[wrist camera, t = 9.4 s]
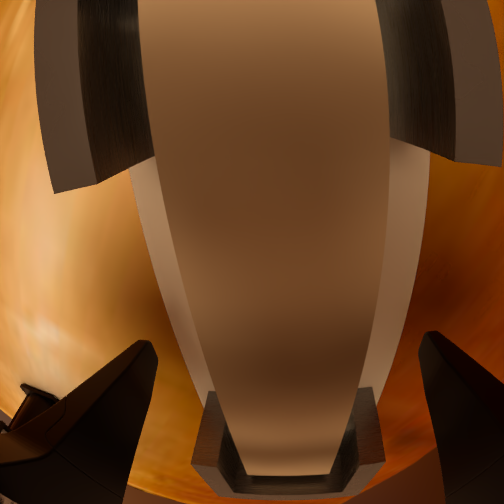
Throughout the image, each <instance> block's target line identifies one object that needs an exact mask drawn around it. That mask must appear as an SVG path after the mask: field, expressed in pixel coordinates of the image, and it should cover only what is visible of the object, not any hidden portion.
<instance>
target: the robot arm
mask: <svg viewBox="0 0 504 504" xmlns="http://www.w3.org/2000/svg"><path fill="white" fill-rule="evenodd" d="M418 356H419V361H420V367H421V372H422V378H423V384H424V391H425V396H426V400H427V404H428V408H429V412H430V416H431V420H432V424H433V429H434V433H435V438H436V443H437V448H438V453H439V458H440V465H441V471H442V477H443V484H444V492H445V497H446V498H445V501H446V504H504V384H503V383H502V382H500V381H499V380H498V379H497V378H496V377H494V376H493V375H492V374H491V373H490V372H488V371H487V370H486V369H485V368H484V367H482V366H481V365H480V364H479V363H477V362H476V361H475V360H474V359H473V358H471V357H470V356H469V355H468V354H466V353H465V352H464V351H463V350H461V349H460V348H459V347H457V346H456V345H455V344H454V343H452V342H451V341H450V340H449V339H447V338H446V337H445V336H443V335H442V334H441V333H440V332H438V331H428V332H426V333H425V334H424V336H423V339H422V342H421V345H420V347H419V351H418ZM157 366H158V357H157V355H156V352H155V350H154V348H153V345H152V343H151V342H150V341H148V340H138V341H136V342H135V343H134V344H132V345H131V346H130V347H129V348H127V349H126V350H125V351H123V352H122V353H121V354H119V355H118V356H117V357H116V358H114V359H113V360H112V361H110V362H109V363H108V364H107V365H105V366H104V367H103V368H101V369H100V370H99V371H97V372H96V373H95V374H94V375H92V376H91V377H90V378H88V379H87V380H86V381H85V382H83V383H82V384H81V385H79V386H78V387H77V388H75V389H74V390H73V391H72V392H70V393H69V394H68V395H67V397H66V396H65V397H64V398H62V399H61V400H60V401H58V400H57V399H56V398H55V397H54V396H52V395H49V394H46V393H44V392H41V391H38V390H36V389H33V388H31V387H29V386H26V385H24V384H21V386H20V387H21V389H22V390H23V391H24V392H25V394H26V395H27V396H26V397H25V399H24V401H23V402H22V404H21V406H20V407H19V409H18V411H17V412H16V414H15V416H14V417H13V419H12V421H11V423H10V424H9V426H7V425H5V423H4V422H3V421H0V504H122V502H123V497H124V494H125V490H126V486H127V482H128V478H129V474H130V470H131V467H132V463H133V459H134V456H135V452H136V449H137V445H138V442H139V438H140V435H141V431H142V428H143V424H144V421H145V418H146V414H147V411H148V408H149V404H150V401H151V396H152V391H153V386H154V381H155V376H156V371H157ZM1 432H3V433H2V434H1Z"/></svg>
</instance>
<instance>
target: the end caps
mask: <svg viewBox="0 0 504 504" xmlns="http://www.w3.org/2000/svg"><path fill="white" fill-rule="evenodd" d="M375 2H376V7H377V13H378V18H379V24H380V30H381V36H382V43H383V50H384V58H385V67H386V77H387V89H388V104H389V128H390V137H391V138H394V139H397V140H400V141H403V142H406V143H409V144H411V145H414V146H417V147H420V148H422V149H425V150H428V151H430V152H433V153H435V154H438V155H440V156H443V157H445V158H447V159H450V160H452V161H454V162H463V163H473V164H482V165H490V166H498V167H501V165H502V151H503V96H502V82H501V72H500V63H499V56H498V49H497V43H496V38H495V33H494V28H493V23H492V19H491V15H490V11H489V7H488V3H487V0H375ZM34 64H35V82H36V94H37V104H38V113H39V120H40V127H41V134H42V140H43V145H44V151H45V156H46V161H47V165H48V170H49V174H50V179H51V183H52V187H53V191H54V194H56V193H60V192H64V191H69V190H73V189H77V188H82V187H86V186H91V185H95V184H98V183H100V182H102V181H104V180H106V179H108V178H110V177H112V176H114V175H116V174H118V173H120V172H122V171H124V170H126V169H128V168H130V167H132V166H134V165H136V164H138V163H141V162H143V161H145V160H147V159H149V158H151V157H154V156H155V153H154V147H153V141H152V135H151V128H150V122H149V115H148V108H147V100H146V93H145V84H144V76H143V66H142V56H141V45H140V32H139V17H138V0H36V9H35V26H34ZM385 462H386V460H385V453H384V447H383V441H382V435H381V429H380V423H379V418H378V413H377V408H376V402H375V398H374V393H373V388H372V387H365V388H358V390H357V393H356V397H355V400H354V404H353V407H352V410H351V414H350V417H349V420H348V423H347V426H346V429H345V432H344V435H343V438H342V441H341V444H340V447H339V449H338V452H337V455H336V457H335V460H334V463H333V465H332V468H331V470H330V473H329V474H321V475H301V476H263V475H247V473H246V470H245V468H244V465H243V463H242V461H241V458H240V456H239V453H238V451H237V448H236V446H235V443H234V440H233V438H232V435H231V433H230V430H229V427H228V425H227V422H226V419H225V417H224V414H223V411H222V408H221V405H220V403H219V400H218V397H217V394H216V391H208V395H207V399H206V403H205V407H204V411H203V415H202V419H201V423H200V428H199V432H198V436H197V440H196V444H195V448H194V452H193V456H192V460H191V465H192V466H193V467H194V469H195V470H196V471H197V472H198V473H199V475H200V476H201V477H202V478H203V479H204V480H205V482H206V483H207V484H208V485H209V486H210V487H211V488H212V489H213V491H214V492H215V493H216V494H217V495H218V496H221V497H231V498H242V499H257V500H310V499H325V498H336V497H345V496H353V495H358V494H359V493H360V492H361V491H362V490H363V488H364V487H365V486H366V485H367V484H368V483H369V482H370V480H371V479H372V478H373V477H374V476H375V474H376V473H377V472H378V471H379V469H380V468H381V467H382V466H383V464H384V463H385Z"/></svg>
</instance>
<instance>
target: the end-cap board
mask: <svg viewBox="0 0 504 504" xmlns="http://www.w3.org/2000/svg"><path fill="white" fill-rule="evenodd" d="M429 164H430V151H428V150H425V149H422V148H420V147H417V146H414V145H411V144H409V143H406V142H403V141H400V140H397V139H394V138H391V137H390V174H389V199H388V214H387V227H386V238H385V248H384V256H383V264H382V272H381V279H380V286H379V292H378V298H377V304H376V310H375V316H374V321H373V326H372V331H371V336H370V341H369V345H368V350H367V354H366V358H365V362H364V367H363V371H362V375H361V378H360V382H359V386H358V388H365V387H372V388H373V393H374V398H375V402H376V406H377V403H378V401H379V398H380V396H381V393H382V390H383V388H384V385H385V382H386V380H387V377H388V374H389V371H390V368H391V365H392V362H393V359H394V356H395V353H396V350H397V347H398V344H399V340H400V337H401V333H402V330H403V326H404V323H405V319H406V315H407V311H408V307H409V303H410V299H411V295H412V290H413V286H414V281H415V276H416V271H417V266H418V261H419V255H420V249H421V243H422V236H423V229H424V222H425V214H426V205H427V194H428V181H429ZM129 172H130V177H131V182H132V186H133V191H134V195H135V200H136V204H137V208H138V213H139V217H140V221H141V225H142V229H143V233H144V236H145V240H146V244H147V248H148V251H149V255H150V258H151V262H152V265H153V269H154V272H155V276H156V279H157V282H158V285H159V289H160V292H161V295H162V298H163V301H164V304H165V307H166V310H167V313H168V316H169V319H170V322H171V325H172V328H173V331H174V334H175V336H176V339H177V342H178V345H179V347H180V350H181V353H182V355H183V358H184V361H185V363H186V366H187V368H188V371H189V373H190V376H191V378H192V381H193V383H194V386H195V388H196V391H197V393H198V395H199V398H200V400H201V402H202V405H203V407H205V403H206V399H207V395H208V391H215V388H214V385H213V382H212V379H211V376H210V373H209V370H208V367H207V364H206V361H205V358H204V355H203V352H202V348H201V345H200V342H199V339H198V335H197V332H196V329H195V325H194V322H193V318H192V315H191V311H190V308H189V304H188V300H187V297H186V293H185V289H184V286H183V282H182V278H181V274H180V270H179V266H178V262H177V258H176V254H175V250H174V246H173V242H172V237H171V233H170V228H169V224H168V219H167V215H166V210H165V205H164V201H163V196H162V191H161V186H160V180H159V175H158V170H157V164H156V159H155V156H154V157H151V158H149V159H147V160H145V161H143V162H141V163H138V164H136V165H134V166H132V167H130V168H129Z"/></svg>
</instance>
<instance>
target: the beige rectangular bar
mask: <svg viewBox="0 0 504 504" xmlns="http://www.w3.org/2000/svg"><path fill="white" fill-rule="evenodd" d="M138 17H139V32H140V45H141V56H142V66H143V76H144V84H145V93H146V100H147V108H148V115H149V122H150V128H151V135H152V141H153V147H154V153H155V159H156V164H157V170H158V175H159V180H160V186H161V191H162V196H163V201H164V205H165V210H166V215H167V219H168V224H169V228H170V233H171V237H172V242H173V246H174V250H175V254H176V258H177V262H178V266H179V270H180V274H181V278H182V282H183V286H184V289H185V293H186V297H187V300H188V304H189V308H190V311H191V315H192V318H193V322H194V325H195V329H196V332H197V335H198V339H199V342H200V345H201V348H202V352H203V355H204V358H205V361H206V364H207V367H208V370H209V373H210V376H211V379H212V382H213V385H214V388H215V391H216V394H217V397H218V400H219V403H220V405H221V408H222V411H223V414H224V417H225V419H226V422H227V425H228V427H229V430H230V433H231V435H232V438H233V440H234V443H235V446H236V448H237V451H238V453H239V456H240V458H241V461H242V463H243V465H244V468H245V470H246V473H247V475H263V476H301V475H321V474H329V473H330V470H331V468H332V465H333V463H334V460H335V457H336V455H337V452H338V449H339V447H340V444H341V441H342V438H343V435H344V432H345V429H346V426H347V423H348V420H349V417H350V414H351V410H352V407H353V404H354V400H355V397H356V393H357V390H358V386H359V382H360V378H361V375H362V371H363V367H364V362H365V358H366V354H367V350H368V345H369V341H370V336H371V331H372V326H373V321H374V316H375V310H376V304H377V298H378V292H379V286H380V279H381V272H382V264H383V256H384V248H385V238H386V227H387V214H388V199H389V174H390V128H389V104H388V89H387V77H386V67H385V58H384V50H383V43H382V36H381V30H380V24H379V18H378V13H377V7H376V2H375V0H138Z"/></svg>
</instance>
